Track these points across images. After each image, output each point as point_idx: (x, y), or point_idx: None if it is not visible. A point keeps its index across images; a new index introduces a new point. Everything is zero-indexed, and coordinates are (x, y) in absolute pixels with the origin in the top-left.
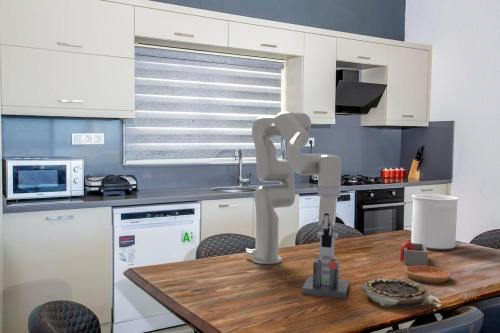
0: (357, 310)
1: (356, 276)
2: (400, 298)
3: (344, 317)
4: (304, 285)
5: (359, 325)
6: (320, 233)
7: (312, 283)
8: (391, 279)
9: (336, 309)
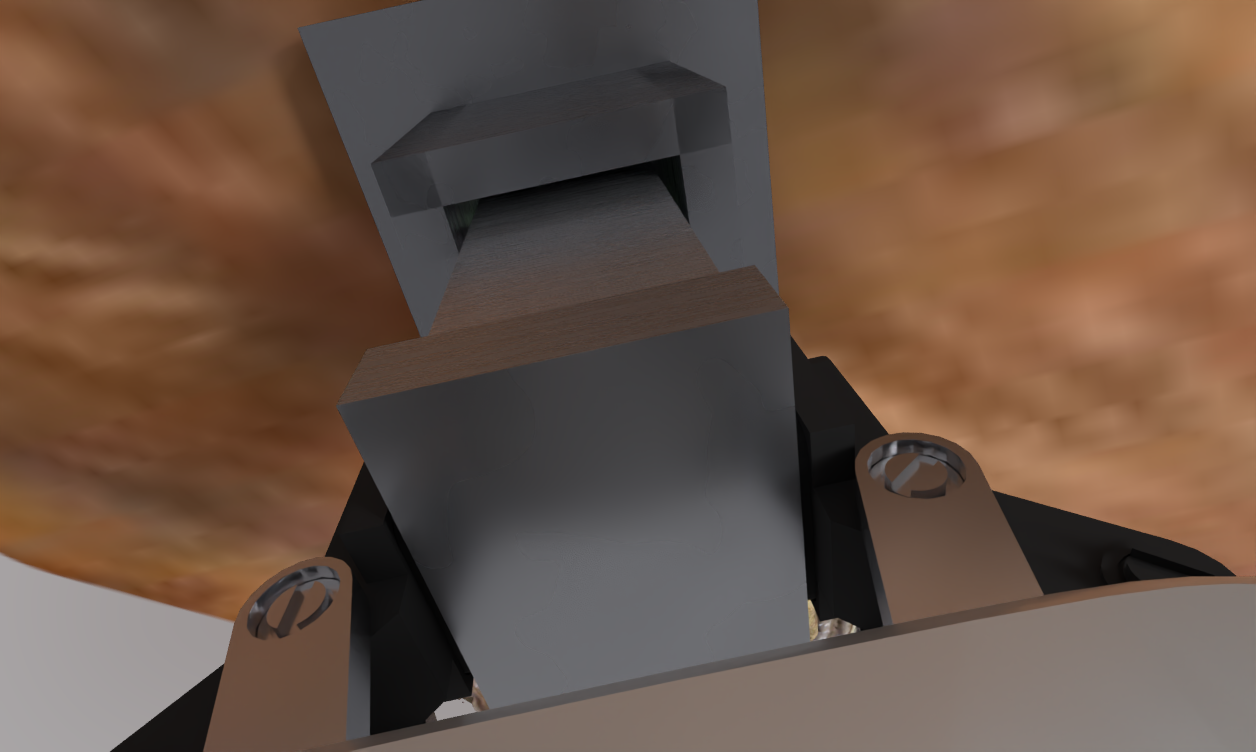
0: (295, 499)
1: (1046, 300)
2: (478, 695)
3: (110, 475)
4: (397, 17)
5: (72, 565)
6: (515, 444)
7: (514, 76)
8: (811, 603)
9: (202, 397)
